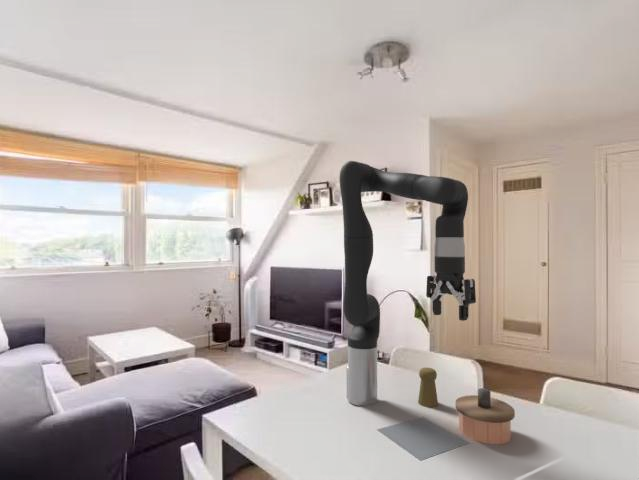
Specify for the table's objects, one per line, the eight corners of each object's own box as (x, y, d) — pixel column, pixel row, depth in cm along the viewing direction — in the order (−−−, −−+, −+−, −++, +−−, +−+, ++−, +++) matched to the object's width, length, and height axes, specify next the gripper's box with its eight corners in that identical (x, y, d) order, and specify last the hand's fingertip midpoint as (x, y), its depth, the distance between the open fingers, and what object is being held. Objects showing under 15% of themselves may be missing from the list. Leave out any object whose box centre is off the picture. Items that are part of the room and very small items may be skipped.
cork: (439, 409, 110) (439, 372, 110) (418, 408, 111) (418, 371, 111) (437, 401, 116) (437, 366, 116) (417, 399, 117) (417, 364, 117)
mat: (376, 431, 97) (376, 429, 97) (422, 418, 104) (422, 416, 104) (420, 462, 83) (420, 460, 83) (469, 444, 90) (469, 442, 90)
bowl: (449, 428, 98) (449, 405, 98) (480, 418, 104) (480, 397, 104) (489, 450, 88) (489, 424, 88) (520, 438, 93) (520, 414, 94)
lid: (444, 405, 99) (443, 386, 99) (479, 395, 106) (478, 377, 106) (490, 427, 86) (490, 406, 87) (526, 414, 93) (526, 394, 93)
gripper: (482, 255, 92) (482, 321, 92) (439, 254, 105) (439, 312, 104) (461, 255, 89) (461, 323, 88) (419, 254, 101) (419, 314, 101)
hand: (449, 317), depth 96 cm, fingers open, 8 cm apart
